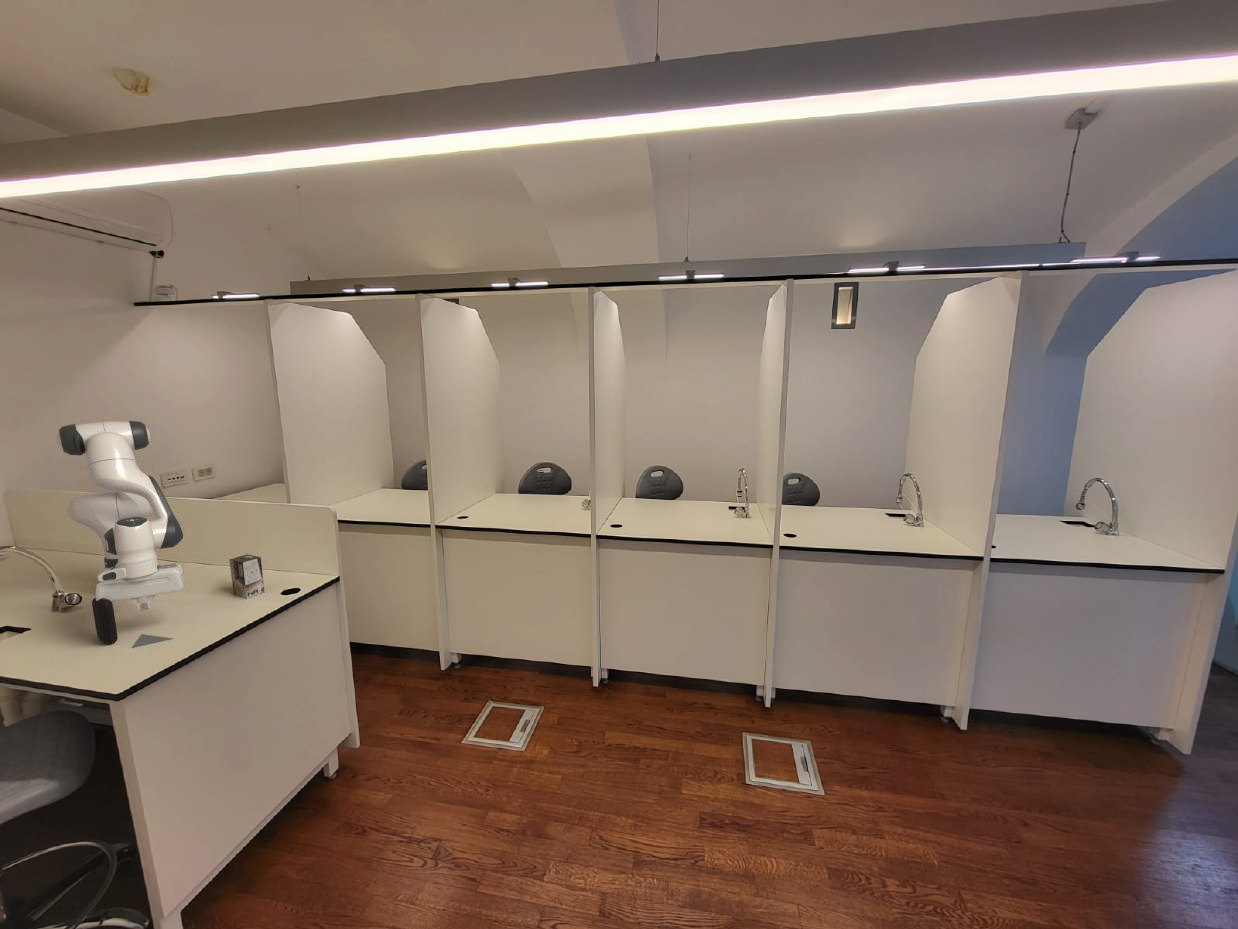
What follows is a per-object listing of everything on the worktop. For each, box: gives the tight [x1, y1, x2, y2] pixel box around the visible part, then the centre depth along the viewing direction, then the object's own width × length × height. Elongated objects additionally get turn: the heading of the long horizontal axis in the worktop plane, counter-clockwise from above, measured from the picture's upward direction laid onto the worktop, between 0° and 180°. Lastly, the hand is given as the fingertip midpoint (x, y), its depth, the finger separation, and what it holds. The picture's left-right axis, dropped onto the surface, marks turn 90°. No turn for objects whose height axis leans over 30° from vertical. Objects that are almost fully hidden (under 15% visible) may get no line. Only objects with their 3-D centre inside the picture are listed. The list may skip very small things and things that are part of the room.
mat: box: [131, 633, 175, 649], centre depth 159 cm, size 22×22×1 cm
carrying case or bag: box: [91, 596, 119, 645], centre depth 147 cm, size 11×3×15 cm, turn 60°
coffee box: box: [229, 553, 265, 600], centre depth 179 cm, size 9×6×16 cm
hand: (145, 609), depth 153 cm, fingers closed
